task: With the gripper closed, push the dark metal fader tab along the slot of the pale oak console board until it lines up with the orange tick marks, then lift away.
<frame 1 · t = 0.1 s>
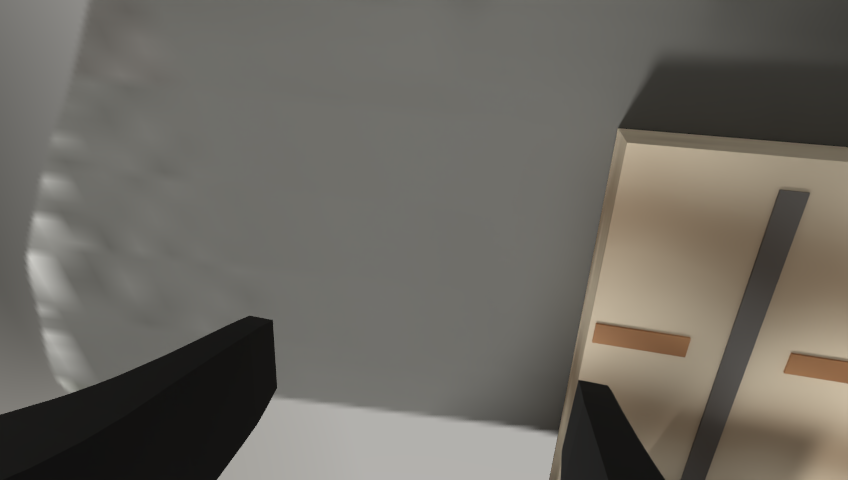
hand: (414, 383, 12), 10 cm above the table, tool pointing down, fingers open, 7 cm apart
console board: (690, 398, 22), on the table
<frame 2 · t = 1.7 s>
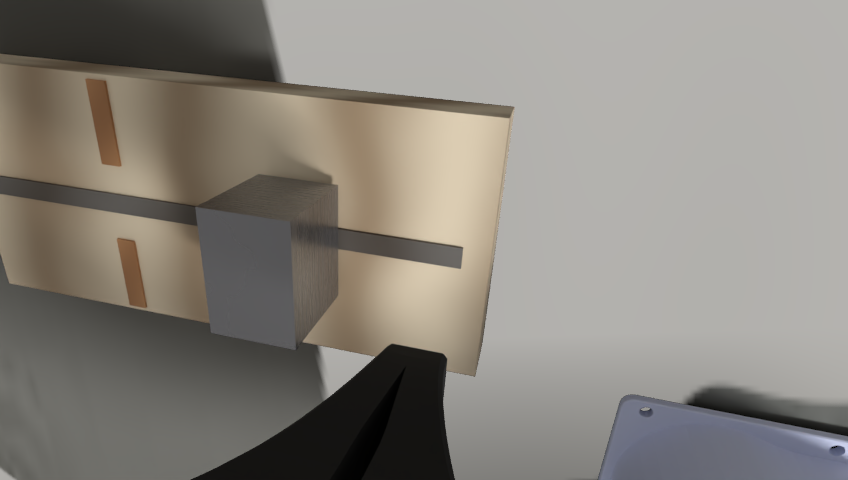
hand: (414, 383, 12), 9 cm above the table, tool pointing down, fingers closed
fader tab: (276, 257, 17), point 5 cm above the table, slide at 0.0 cm
console board: (242, 198, 22), on the table
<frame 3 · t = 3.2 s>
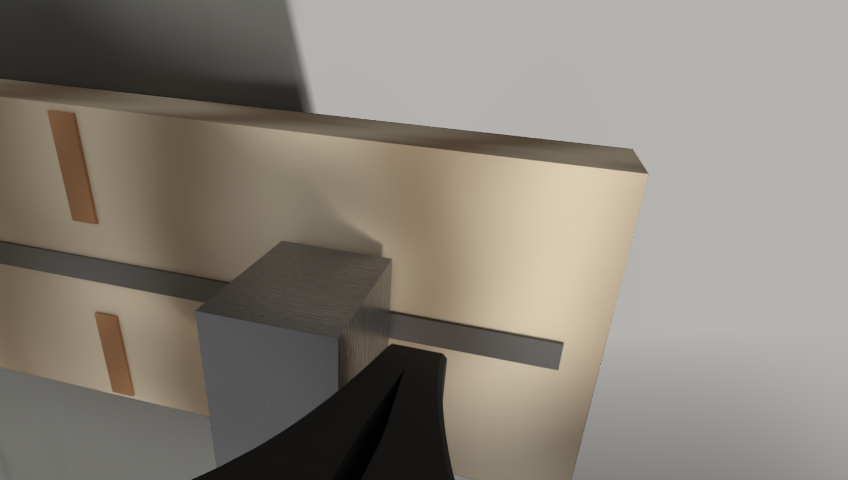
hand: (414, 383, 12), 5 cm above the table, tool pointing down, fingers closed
fader tab: (307, 361, 12), point 5 cm above the table, slide at 0.0 cm, touching gripper
console board: (256, 257, 17), on the table
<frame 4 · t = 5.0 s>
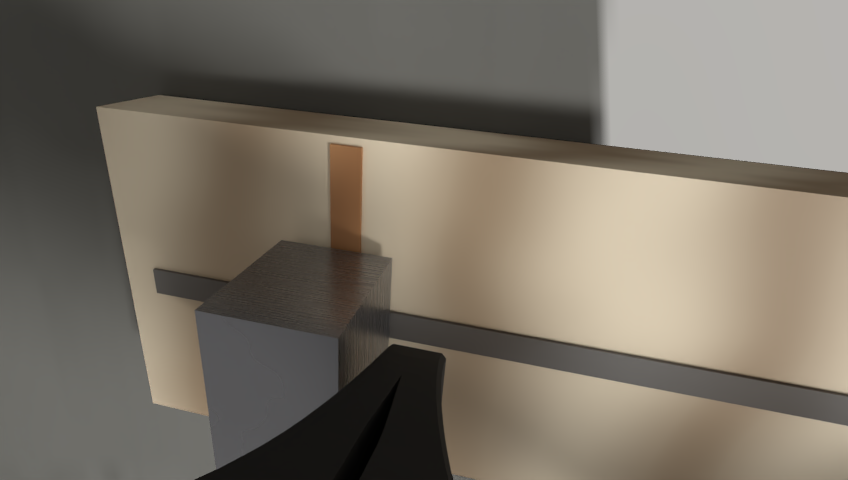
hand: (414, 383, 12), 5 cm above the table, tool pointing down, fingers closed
fader tab: (307, 361, 12), point 5 cm above the table, slide at 8.1 cm, touching gripper
console board: (497, 297, 16), on the table
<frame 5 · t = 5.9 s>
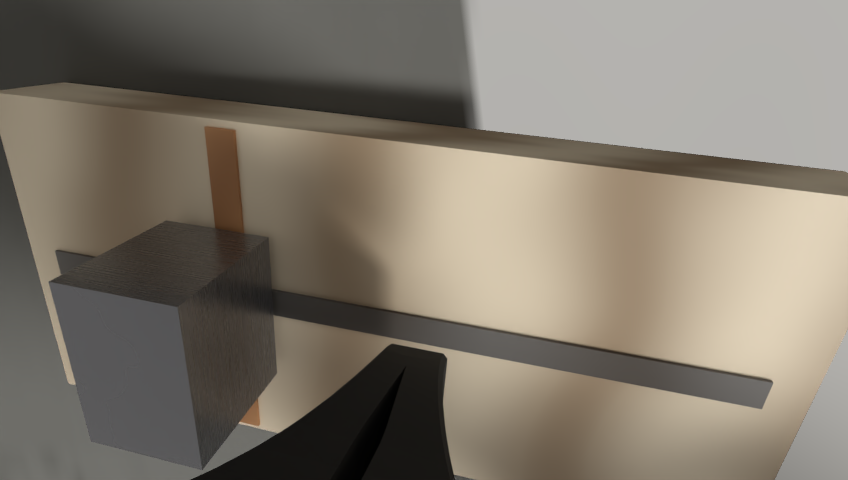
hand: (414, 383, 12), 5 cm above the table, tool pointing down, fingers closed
fader tab: (182, 335, 13), point 5 cm above the table, slide at 8.2 cm
console board: (393, 279, 16), on the table
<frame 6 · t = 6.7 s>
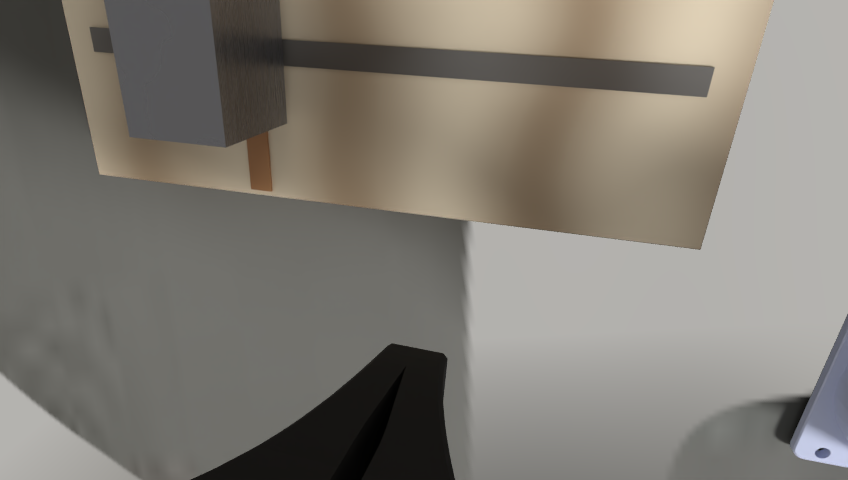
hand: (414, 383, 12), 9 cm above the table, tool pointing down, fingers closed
fader tab: (206, 53, 15), point 5 cm above the table, slide at 8.2 cm
console board: (388, 53, 18), on the table
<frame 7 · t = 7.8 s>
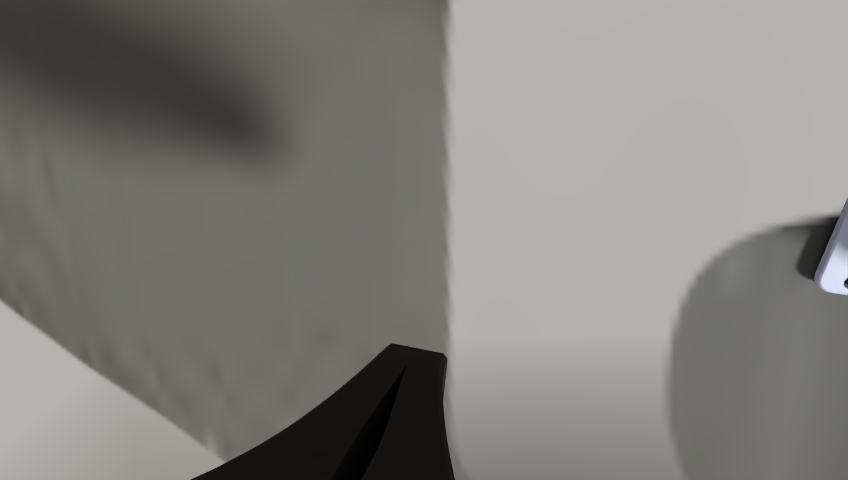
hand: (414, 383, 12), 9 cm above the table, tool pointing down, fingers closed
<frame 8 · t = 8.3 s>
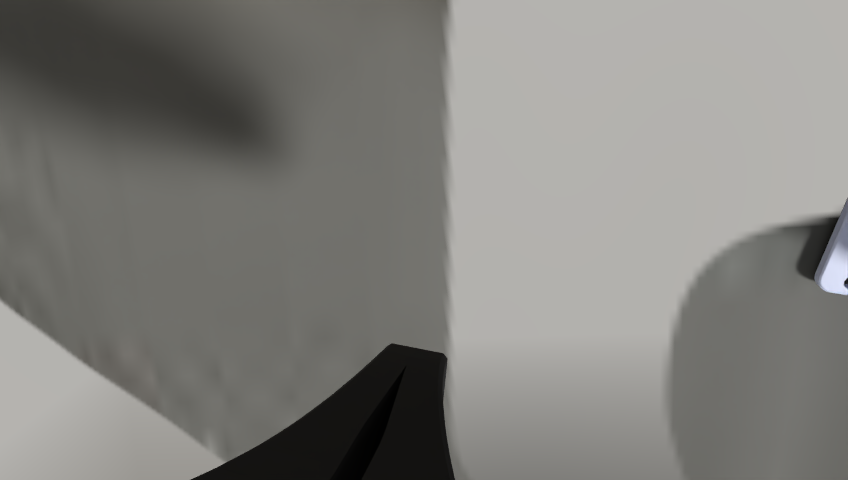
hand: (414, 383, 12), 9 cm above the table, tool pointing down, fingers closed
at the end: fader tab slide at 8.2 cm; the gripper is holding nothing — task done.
